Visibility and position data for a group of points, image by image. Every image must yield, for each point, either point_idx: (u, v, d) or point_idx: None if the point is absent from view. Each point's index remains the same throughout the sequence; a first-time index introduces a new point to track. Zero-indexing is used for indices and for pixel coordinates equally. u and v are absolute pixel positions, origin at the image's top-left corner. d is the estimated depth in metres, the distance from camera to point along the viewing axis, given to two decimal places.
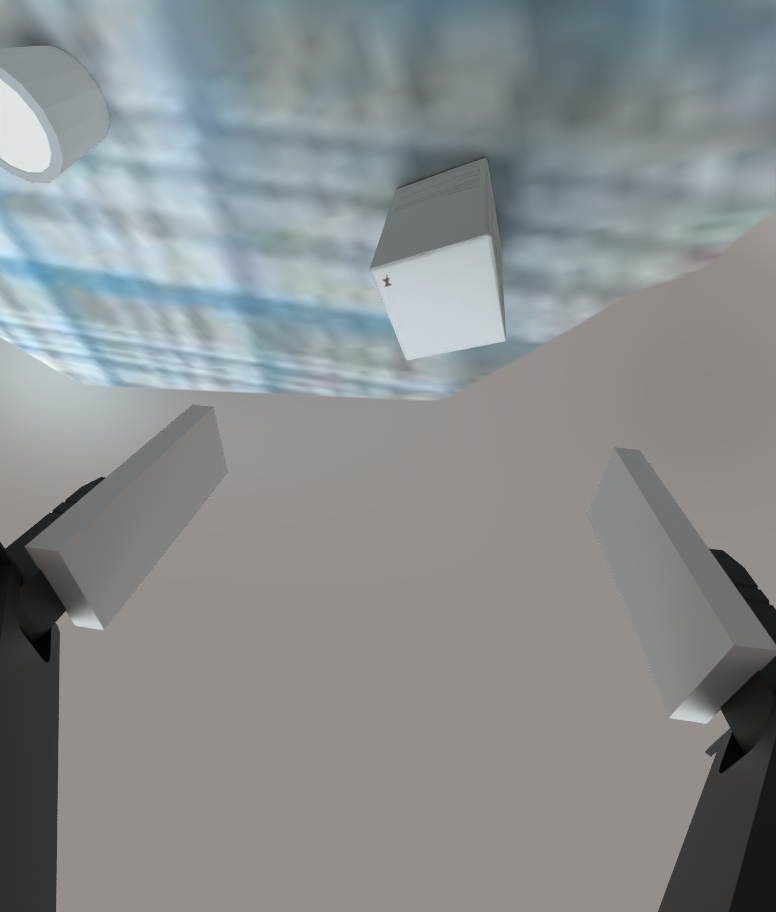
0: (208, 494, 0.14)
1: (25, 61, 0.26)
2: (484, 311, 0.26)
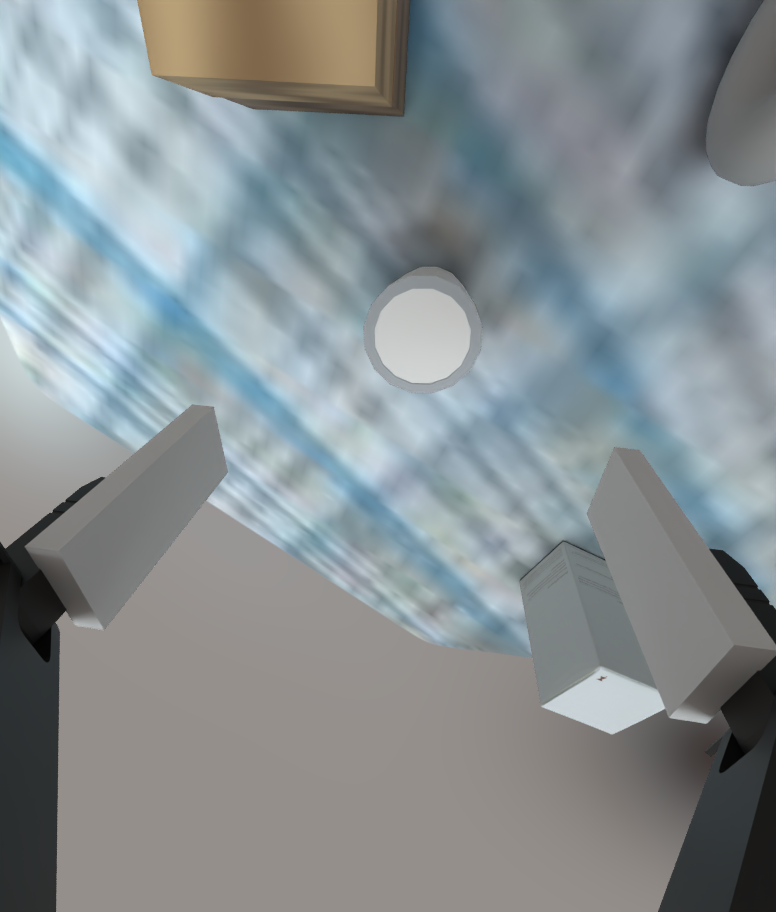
0: (208, 494, 0.14)
1: None
2: (626, 720, 0.32)
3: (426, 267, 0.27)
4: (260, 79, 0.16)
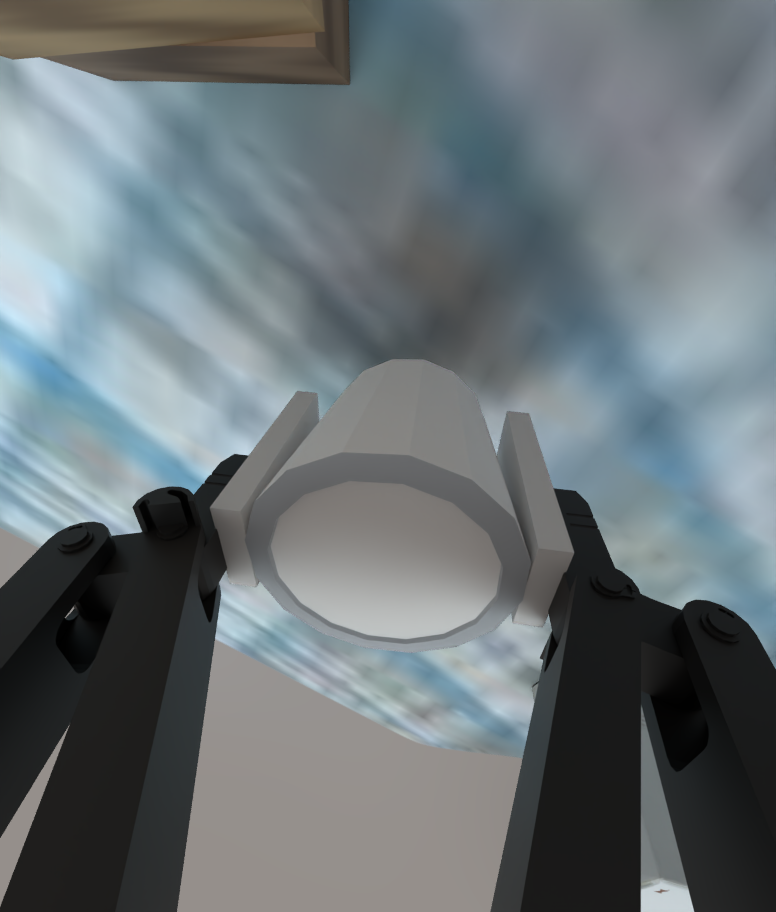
0: None
1: None
2: None
3: (401, 365, 0.13)
4: None
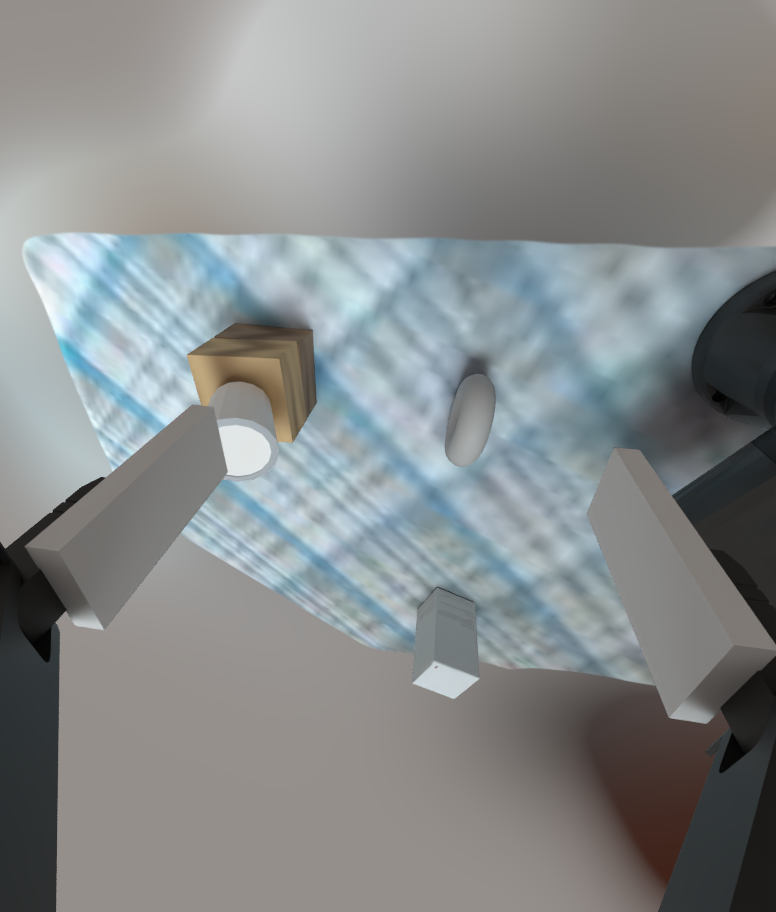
0: (208, 494, 0.14)
1: (254, 408, 0.35)
2: (457, 690, 0.59)
3: (212, 396, 0.37)
4: None
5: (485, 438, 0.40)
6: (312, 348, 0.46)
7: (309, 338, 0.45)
